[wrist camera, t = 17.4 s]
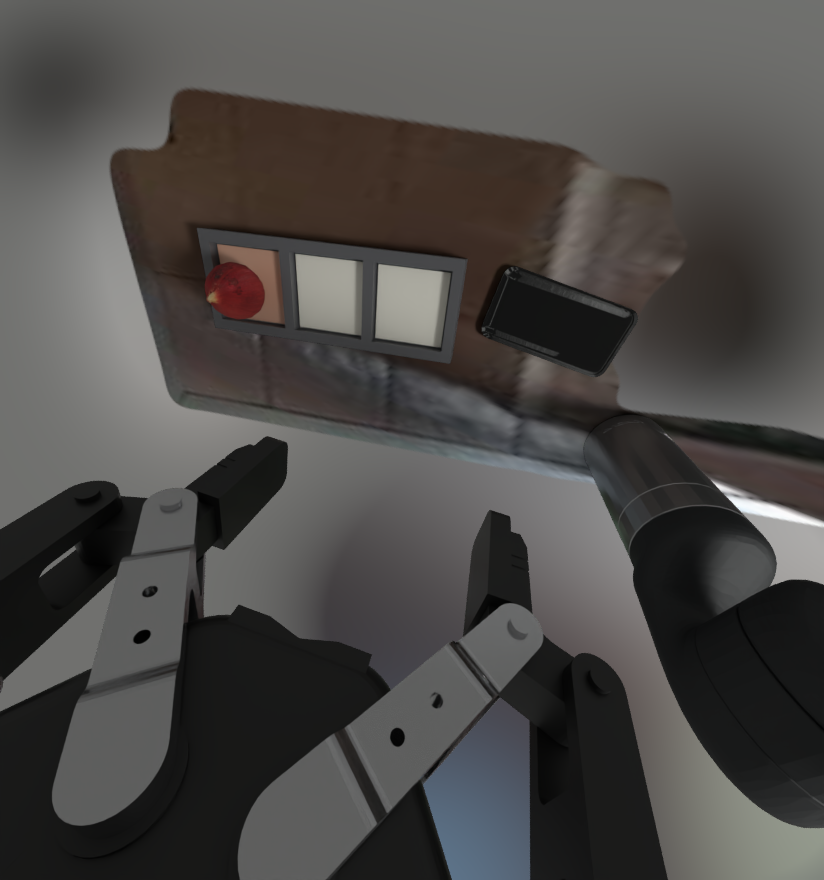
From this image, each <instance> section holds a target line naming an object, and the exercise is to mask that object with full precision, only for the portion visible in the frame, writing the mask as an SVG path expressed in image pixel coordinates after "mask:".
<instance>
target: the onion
mask: <svg viewBox="0 0 824 880" xmlns="http://www.w3.org/2000/svg"><path fill="white" fill-rule="evenodd" d="M205 293H206V296H207V299H206V300H207V301H208V302H209V303H210V304H211V305H212V306H213V307H214V308H215V310H217V311H218V312H220V313H221V314H223V315H224V316H227V317H230V318H234V319H247V318H251V317H253V316H254V315H255V314H257V313H258V312H259V311H260V310H261V309H262V306H263V304H264V301H265V290H264V287H263V284H262V282H261V280H260V279H259V277H258V275H256V274H255V273H254V272H253V271H252V270H251V269H249V268H248V267H247V266H246V265H242V264H239V263H235V262H227V263H223V264H220V265H217V266H215V267H214V268H213V269H212V271H211V272H210V273H209V274H208V276H207V278H206V282H205Z"/></svg>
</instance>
